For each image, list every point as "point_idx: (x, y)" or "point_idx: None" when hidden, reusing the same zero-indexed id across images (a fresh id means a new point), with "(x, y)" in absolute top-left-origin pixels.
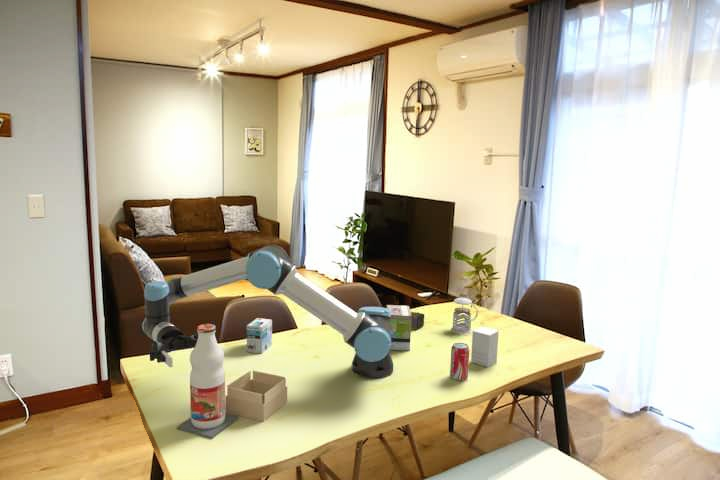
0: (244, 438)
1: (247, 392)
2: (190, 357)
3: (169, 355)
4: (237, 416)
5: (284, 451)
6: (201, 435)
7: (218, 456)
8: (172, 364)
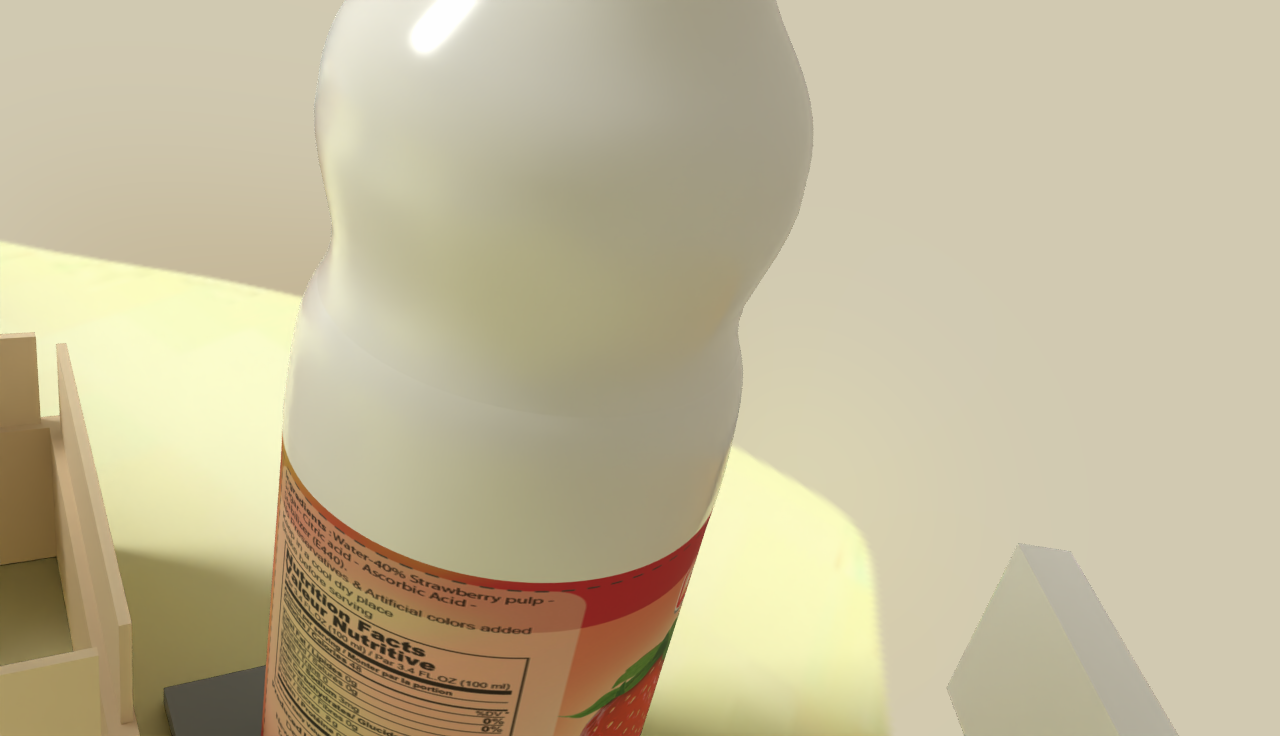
0: None
1: (89, 446)
2: (811, 149)
3: (1083, 667)
4: (175, 693)
5: (295, 323)
6: None
7: None
8: (964, 655)
